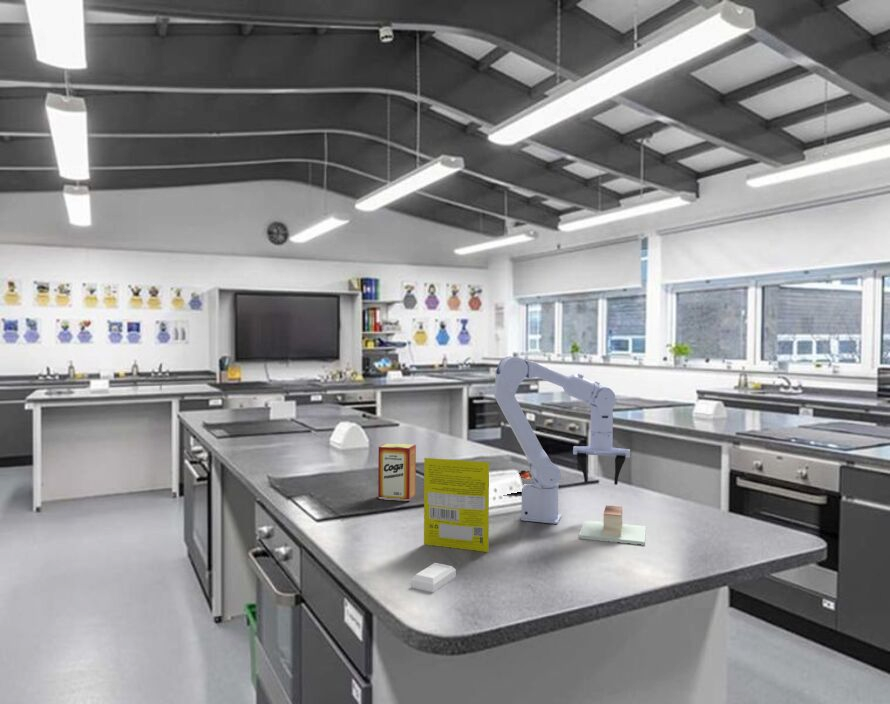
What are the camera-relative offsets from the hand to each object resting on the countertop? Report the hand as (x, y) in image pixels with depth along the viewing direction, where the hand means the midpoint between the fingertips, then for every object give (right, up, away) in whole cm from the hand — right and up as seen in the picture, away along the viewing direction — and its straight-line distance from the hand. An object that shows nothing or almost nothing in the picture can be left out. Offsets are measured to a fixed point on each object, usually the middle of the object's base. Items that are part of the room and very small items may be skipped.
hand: (600, 482), depth 166 cm
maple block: (0, -9, -13) cm, 16 cm away
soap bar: (-44, -11, -44) cm, 63 cm away
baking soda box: (-56, -9, +20) cm, 60 cm away
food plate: (-18, -9, +37) cm, 42 cm away
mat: (0, -10, -13) cm, 17 cm away
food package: (-39, -10, -25) cm, 47 cm away
